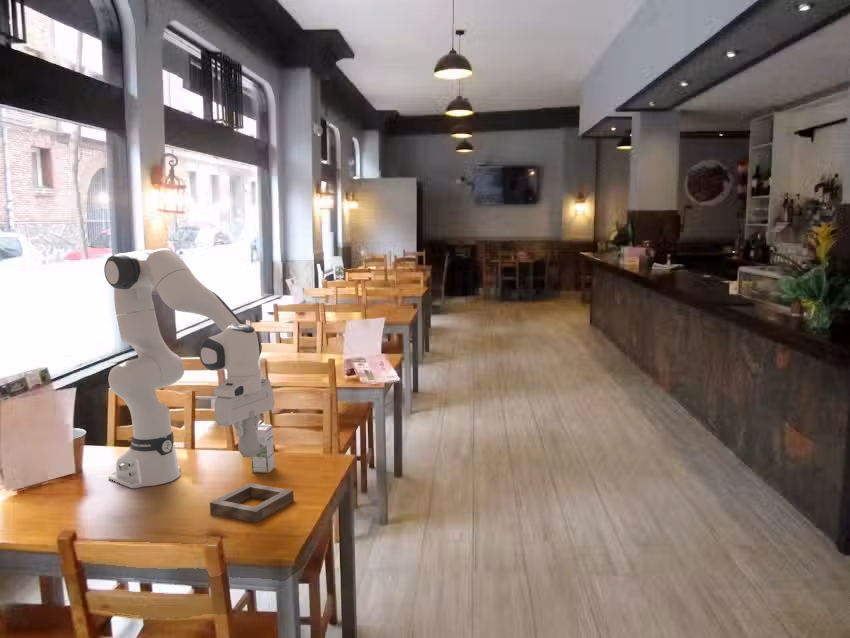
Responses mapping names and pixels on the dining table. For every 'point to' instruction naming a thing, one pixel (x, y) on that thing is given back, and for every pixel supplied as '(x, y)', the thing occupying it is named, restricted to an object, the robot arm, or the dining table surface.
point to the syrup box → (264, 450)
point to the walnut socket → (232, 509)
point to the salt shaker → (249, 438)
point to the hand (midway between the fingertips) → (247, 433)
